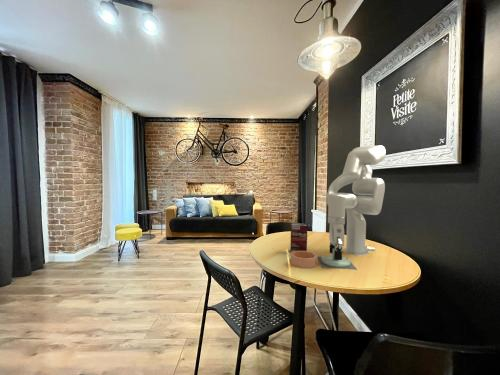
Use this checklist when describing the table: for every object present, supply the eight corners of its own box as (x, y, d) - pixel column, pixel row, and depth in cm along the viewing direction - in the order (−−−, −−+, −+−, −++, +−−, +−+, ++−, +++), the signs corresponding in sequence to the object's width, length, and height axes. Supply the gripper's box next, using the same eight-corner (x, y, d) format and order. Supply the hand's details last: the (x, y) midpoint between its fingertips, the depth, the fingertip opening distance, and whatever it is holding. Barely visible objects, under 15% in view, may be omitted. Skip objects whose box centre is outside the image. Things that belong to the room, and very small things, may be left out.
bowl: (314, 261, 114) (315, 251, 113) (319, 270, 102) (319, 259, 101) (290, 260, 115) (290, 250, 115) (291, 269, 103) (291, 258, 103)
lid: (345, 258, 115) (346, 246, 115) (354, 268, 102) (354, 254, 102) (318, 257, 117) (319, 244, 116) (324, 266, 104) (324, 253, 103)
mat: (347, 259, 116) (347, 257, 116) (357, 271, 101) (357, 269, 101) (316, 258, 118) (316, 256, 118) (322, 269, 103) (322, 267, 103)
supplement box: (290, 254, 123) (291, 225, 123) (290, 251, 128) (290, 223, 128) (307, 255, 122) (307, 225, 122) (306, 252, 127) (306, 223, 127)
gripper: (350, 223, 100) (349, 263, 100) (339, 217, 117) (338, 251, 117) (332, 223, 101) (331, 262, 101) (324, 217, 118) (323, 250, 118)
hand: (335, 256), depth 109 cm, fingers open, 9 cm apart
